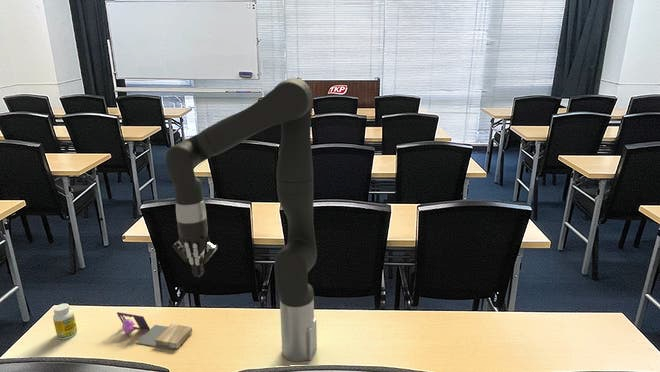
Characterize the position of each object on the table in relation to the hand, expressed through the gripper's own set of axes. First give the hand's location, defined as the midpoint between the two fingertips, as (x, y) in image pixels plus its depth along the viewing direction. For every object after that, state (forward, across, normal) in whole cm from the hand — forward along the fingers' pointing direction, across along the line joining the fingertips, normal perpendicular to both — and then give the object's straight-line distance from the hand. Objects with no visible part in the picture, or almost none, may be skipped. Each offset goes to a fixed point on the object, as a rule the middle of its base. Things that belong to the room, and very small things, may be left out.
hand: (198, 275), depth 124 cm
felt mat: (+22, +14, 0) cm, 27 cm away
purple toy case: (+23, +25, 0) cm, 34 cm away
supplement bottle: (+22, +43, +6) cm, 49 cm away
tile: (+21, +7, 0) cm, 22 cm away
